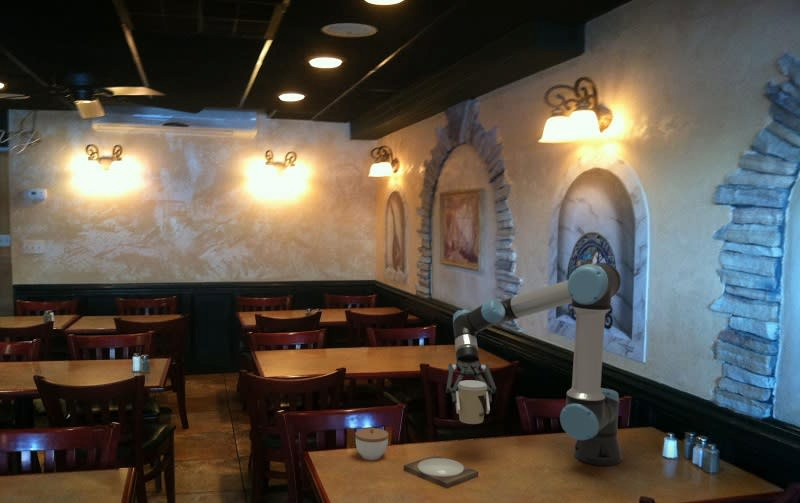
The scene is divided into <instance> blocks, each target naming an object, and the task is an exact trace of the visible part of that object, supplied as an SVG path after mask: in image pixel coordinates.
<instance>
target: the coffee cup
mask: <svg viewBox="0 0 800 503" xmlns="http://www.w3.org/2000/svg"><path fill="white" fill-rule="evenodd" d="M486 383H487V382H486ZM486 383H484V382H481V381H477V380H476V379H475V380H473V379H470V380H468V379H467V380H461V382H459V384H458V389H457V391H458V393H459V403H460V412H459V414H458V417H459V418H458V419H459V421H460V422H461V423H464V424H467V425H468V424H470V425H476V424H481V423H483V422H484V419H485V418H484V417H485V411H486V407H485V400H486V389H487V386H486Z"/></svg>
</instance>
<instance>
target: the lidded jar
mask: <svg viewBox="0 0 800 503" xmlns="http://www.w3.org/2000/svg"><path fill="white" fill-rule="evenodd" d="M354 435H355V447H356V450H357V452H358V454H359V455H360V456H361V457H362V459H364V460H366V461H376V460H379V459H381V457H382V456H383V455H385V453H386V451H387V449H388V443H389V432H388V431H387V430H385V429H382V428H376V427H375V428H374V427H368V428H360V429H359V430H356V432H355V434H354Z"/></svg>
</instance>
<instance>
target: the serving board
mask: <svg viewBox="0 0 800 503" xmlns="http://www.w3.org/2000/svg"><path fill="white" fill-rule="evenodd" d="M403 471H404V472H407V473H409V474H412V475H414V476H417V477H419V478H422V479H423V480H426V481H428V482H431V483H433V484H436V485H438V486H440V487H443V488H445V489H449V488H452V487H455V486H456V485H459V484H462V483H465V482H467V481H469V480H472V479H475V478H477V477H479V471H478V470H475V469H473V468H471V467H468V466H465V465H464V464H462V463H461V462H459V461H456V460H454V459H451V458H443V457H442V456H438V455H436V454H435V455H430V456H429V457H425V458H423V459H422V458H421V459H419V460H416V461H413V462H410V463H406V464H404V465H403Z"/></svg>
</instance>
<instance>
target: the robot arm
mask: <svg viewBox="0 0 800 503" xmlns="http://www.w3.org/2000/svg"><path fill="white" fill-rule="evenodd" d="M621 285H622V276H621V274H620V272H619V271H618V269H617V268H616V267H615V266H613V265H612V264H609V263H606V262H596V263H590V264H589V263H587V264H583V265H581V266H579V267H577V268H575V270H573V271H572V272H571V273H570V275H569V278H568V279H567V280H564V281H560V282H557V283H555V284H551V285H548V286H545V287H541V288H539V289H536V290H535V289H534V290H532V291H529V292H526V293H522V294H519V295H516V296H513V297H509V298H506V299H503V300H497V299H496V298H495V299H490V300H489V301H485V302H484V303H482V304H481V305H480V306H478V307H476V308H475V309H473V310H470V309H464V308H463V309H461V310H457V311H455V312H454V313H453V316H452V328H453V335H454V345H455V346H454V347H455V349H454V350H455V359H456V364H452V363H448V367H447V371H448V375H447V382H446V387H445V393H446V394H450V395H451V400H452V404H455V410H456V414H458V415H459V412H460V403H459V393H458V384H459V382H461V381H463V378H467V377H469V378H470V377H471V378H474V379H475V381H481V382H484V383H486V386H487V389H486V400H485V413H486V415H489V414H490V411H491V409H490V408H491V407H490V404H491V403H492V401H493V398H492V395H493V394H495V393H496V391H497V386H496V384H495V382H494V378H493V376H492V373H491V371H490V364H489V363H486V364H481V362H480V357H479V356H480V355H479V347H478V341H477V340H478V339H477V334H478V333H480V332H482V331H483V330H485V329H488V328H489V327H491V326H495V325H499V324H503V323H507V322H511V321H513V320H517V319H519V318H520V319H521V318H524V317H527V316H531V315H533V314H536V313H541V312H545V311H548V310H550V309H554V308H557V307H561V306H564V305H568V304H571V308H572V309H573V310H574V311H575V327H574V328H575V331H574V332H575V333H574V344H573V346H574V349H573V363H572V364H573V366H572V381H571V388H570V389H568V390H567V392H566V395H565V396H566V399H565V400H566V401H565V406H564V407H563V408H562V410H561V411H560V414H559V415H560V416H559V422H560V426H561V428H562V429H563V431H564V432H565V433H566V435H568V436H569V437H571V438H572V439H575V440H576V443H575V445H574V448H573V456H574V457H575V458H576V460H578V461H580V462H583V463H587V464H590V465H595V466H607V467H608V466H616V465H618V464H620V463H621V462H622V458H623V455H622V454H623V453H622V450H621V446H620V443H619V439H618V424H619V423H618V422H619V421H618V420H619V403H620V398H619V396H620V395H619V393H618V392H617V391H616V390H614V389H609V388H603V387H601V386H602V385H601V384H602V369H603V353H604V338H605V337H604V336H605V321H606V320H605V319H606V314H607V313H608V312H610V310H611V308H612V307H611V305H612V297H614V296H615V295H617V293H618V292H619V290H620V288H621ZM455 371H458V372H459V374H458V377H457V379H456V381H455V383H454V385H453V387H451V386H452V379H453V376H454V375H453V373H454V372H455ZM480 371H482V372H483V373H484V376H485V379H486V380H485V379H484V377H483V376H482V374H481V372H480ZM486 381H487V382H486Z"/></svg>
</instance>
